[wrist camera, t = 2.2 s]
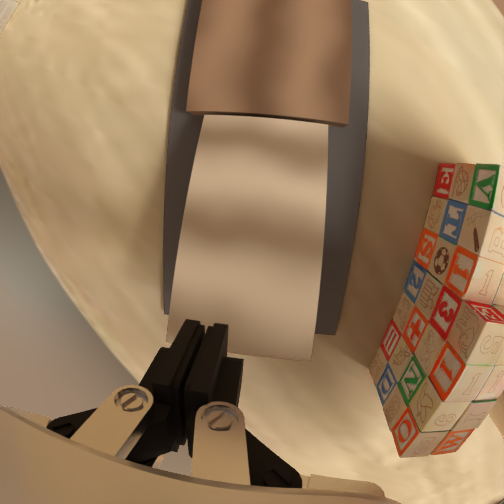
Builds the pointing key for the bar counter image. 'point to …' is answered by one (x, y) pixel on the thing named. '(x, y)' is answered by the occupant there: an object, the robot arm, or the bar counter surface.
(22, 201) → the bar counter surface
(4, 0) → the small box
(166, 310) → the underlay mat
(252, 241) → the plank
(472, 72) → the bar counter surface
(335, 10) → the laid board
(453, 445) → the stack of blocks
